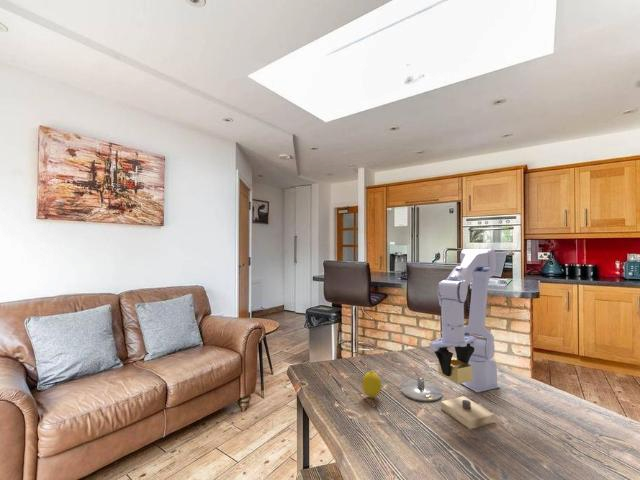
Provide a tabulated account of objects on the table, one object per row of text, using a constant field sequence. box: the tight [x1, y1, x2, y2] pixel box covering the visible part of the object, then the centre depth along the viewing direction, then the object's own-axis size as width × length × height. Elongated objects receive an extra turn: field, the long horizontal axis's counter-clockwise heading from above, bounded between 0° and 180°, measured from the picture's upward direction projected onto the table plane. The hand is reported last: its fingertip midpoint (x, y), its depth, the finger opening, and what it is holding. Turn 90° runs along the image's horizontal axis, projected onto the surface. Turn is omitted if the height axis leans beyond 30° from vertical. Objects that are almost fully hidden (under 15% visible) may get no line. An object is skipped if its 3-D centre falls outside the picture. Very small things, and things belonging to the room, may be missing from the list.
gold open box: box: [437, 356, 472, 385], centre depth 83 cm, size 5×7×4 cm
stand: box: [440, 395, 495, 430], centre depth 80 cm, size 8×10×4 cm
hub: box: [400, 376, 443, 403], centre depth 94 cm, size 12×12×4 cm
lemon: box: [362, 370, 382, 399], centre depth 90 cm, size 6×6×8 cm
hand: (454, 373), depth 84 cm, fingers closed on gold open box, 5 cm apart
